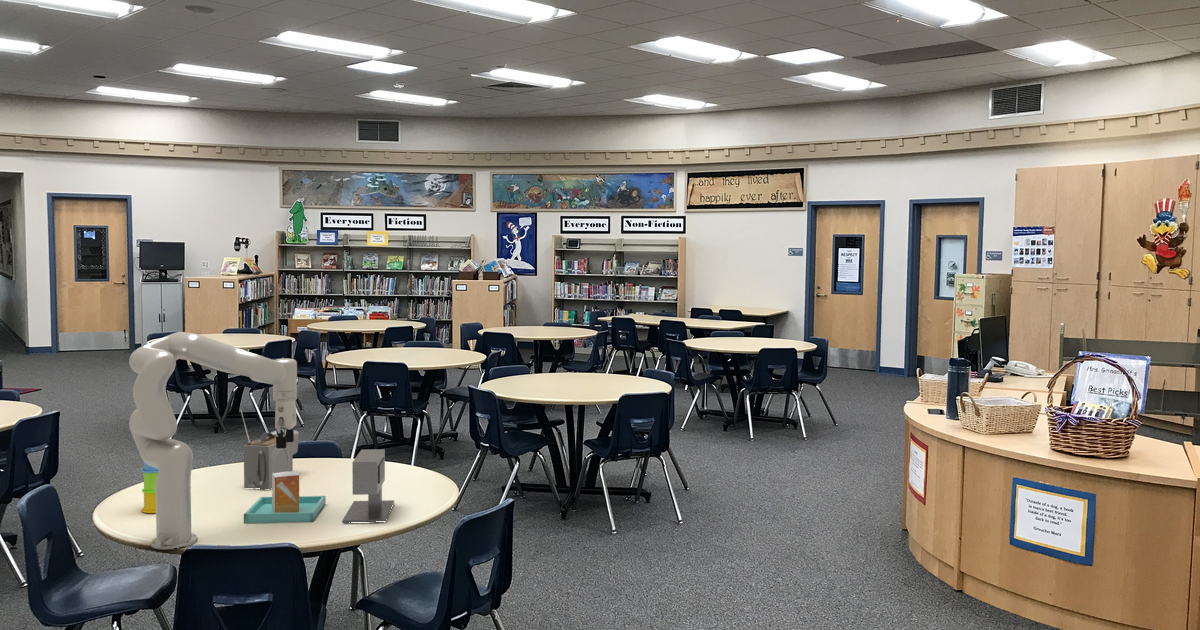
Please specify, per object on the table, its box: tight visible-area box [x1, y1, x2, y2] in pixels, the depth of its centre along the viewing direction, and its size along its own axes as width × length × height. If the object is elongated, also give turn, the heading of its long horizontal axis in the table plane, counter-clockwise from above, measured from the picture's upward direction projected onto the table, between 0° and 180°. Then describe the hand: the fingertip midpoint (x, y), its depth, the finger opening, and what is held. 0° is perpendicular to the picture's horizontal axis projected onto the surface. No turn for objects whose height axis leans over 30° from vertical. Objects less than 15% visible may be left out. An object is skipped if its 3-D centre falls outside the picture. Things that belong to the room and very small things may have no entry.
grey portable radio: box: [239, 409, 300, 490], centre depth 321 cm, size 12×24×30 cm, turn 172°
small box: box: [271, 470, 300, 513], centre depth 283 cm, size 8×6×13 cm
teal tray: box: [243, 495, 327, 524], centre depth 284 cm, size 20×22×3 cm
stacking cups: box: [141, 461, 159, 514], centre depth 284 cm, size 10×10×35 cm
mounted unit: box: [341, 448, 395, 524], centre depth 284 cm, size 22×14×20 cm, turn 7°
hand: (285, 445), depth 282 cm, fingers open, 9 cm apart
